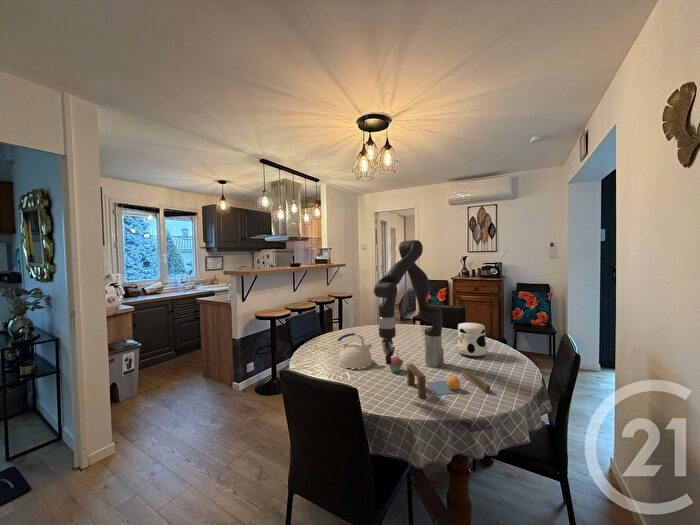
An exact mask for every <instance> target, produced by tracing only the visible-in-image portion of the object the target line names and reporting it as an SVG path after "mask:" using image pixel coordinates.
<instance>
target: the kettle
mask: <svg viewBox="0 0 700 525" xmlns="http://www.w3.org/2000/svg"><path fill="white" fill-rule="evenodd" d="M351 336H353V337H355V336H356V337H358V338H359V339H360V341H361V343H359V342H358V343H357V342H352V343H346V344H344V346H343V348H342V349H341V350H340V352H339V355H338V362H337V364H338V363H339V364H340V365H341V366H343V367H347V368H363V367H367V366H369V365H370V366H372V364H373V360H372V354H371V352H370V349H371V348H373V345H372V344H371V343H370V341H369V342H368V343H366V344H365V340H364V337H363V336H362V335H361V334H359V333H356V332H352V333H347V334H344V335H342V336H340V337H339V338H338V339H337V341H338V342H340V341H342V339H345V338H347V337H351ZM371 363H372V364H371ZM370 366H369V367H370ZM367 368H368V367H367ZM363 369H364V368H363Z"/></svg>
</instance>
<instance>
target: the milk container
mask: <svg viewBox="0 0 700 525" xmlns="http://www.w3.org/2000/svg"><path fill="white" fill-rule="evenodd" d="M457 336H458V338H457V343H456V349H457V351H458V353H459V354H461V355H462V356H466V357H472V358H476V357H477V358H479V357H483V356H486V354H487V352H488V345H487V341H486V328H485V325H484V324H482V323H477V322H462V323H458V324H457Z"/></svg>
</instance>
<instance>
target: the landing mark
mask: <svg viewBox="0 0 700 525" xmlns="http://www.w3.org/2000/svg"><path fill="white" fill-rule="evenodd" d="M446 381H447V379H446V380H436V381H426V386H428V387H429V388H430V389H431V390H432V391H433V392H434V393H435V394H436V395H437V396H441V395H442V396H443V395H451V394H458V393H465V390H463V389H462V388H461V386H459V388H458V389H457V390H451V389H450V388H448V386H447V384H446Z"/></svg>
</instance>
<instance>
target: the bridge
mask: <svg viewBox="0 0 700 525" xmlns="http://www.w3.org/2000/svg"><path fill="white" fill-rule="evenodd" d="M406 376H407V377H406V378H407V379H406V380H407V381H406V382H407V385H408V386H409V387H410V386H411V387H412V386H416V382H417V397H418V399H425V398H427V389H426V388H427V384H426V383H427V381H426V380H427V379H426V375H425V374H424V373H423V372H422V371H421V370H420V369H419V368H418V367H417V366H416V365H415V364H414V363H409V364H406ZM415 378H416V379H417V380H416V379H415ZM415 381H416V382H415Z"/></svg>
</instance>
